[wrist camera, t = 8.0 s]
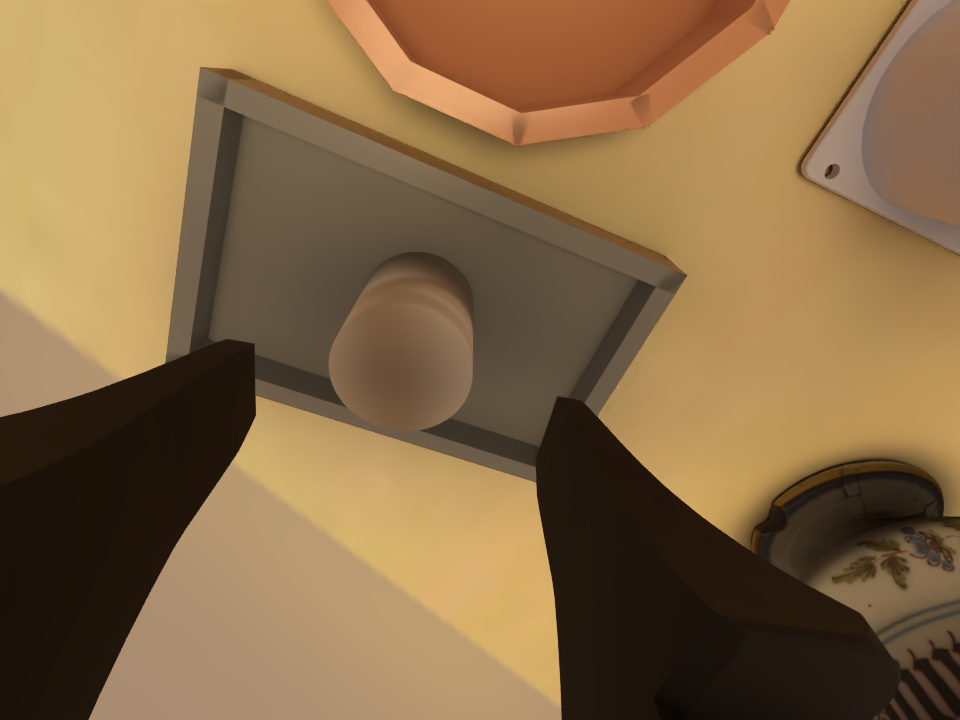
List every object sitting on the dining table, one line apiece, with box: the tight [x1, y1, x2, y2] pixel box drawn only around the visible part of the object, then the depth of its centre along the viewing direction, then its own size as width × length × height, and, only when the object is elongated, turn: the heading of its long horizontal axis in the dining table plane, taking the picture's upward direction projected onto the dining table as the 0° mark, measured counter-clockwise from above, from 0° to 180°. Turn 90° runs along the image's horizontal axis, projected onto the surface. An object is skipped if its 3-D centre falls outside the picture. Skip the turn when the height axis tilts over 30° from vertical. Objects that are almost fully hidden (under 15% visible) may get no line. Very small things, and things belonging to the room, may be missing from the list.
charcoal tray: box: [166, 67, 687, 482], centre depth 20 cm, size 17×11×2 cm, turn 68°
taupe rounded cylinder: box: [329, 252, 474, 431], centre depth 18 cm, size 4×4×6 cm
